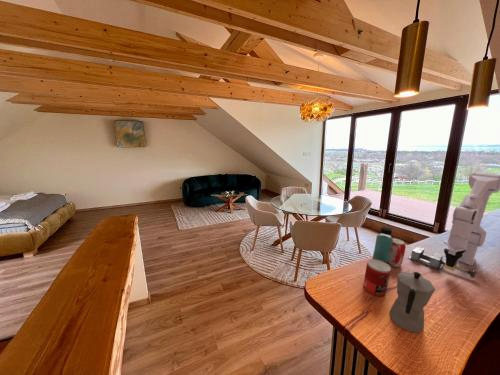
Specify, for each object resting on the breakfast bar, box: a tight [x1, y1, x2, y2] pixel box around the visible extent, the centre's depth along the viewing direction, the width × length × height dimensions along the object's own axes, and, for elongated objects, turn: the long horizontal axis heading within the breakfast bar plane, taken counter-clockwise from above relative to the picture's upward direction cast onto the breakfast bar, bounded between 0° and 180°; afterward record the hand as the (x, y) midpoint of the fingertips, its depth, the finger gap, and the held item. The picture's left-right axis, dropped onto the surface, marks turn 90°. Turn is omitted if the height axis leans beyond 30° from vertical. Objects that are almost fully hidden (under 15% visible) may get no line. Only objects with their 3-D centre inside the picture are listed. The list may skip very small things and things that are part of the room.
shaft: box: [439, 259, 477, 278], centre depth 95 cm, size 14×3×3 cm, turn 37°
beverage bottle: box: [372, 226, 393, 264], centre depth 94 cm, size 6×7×20 cm
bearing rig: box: [408, 245, 444, 271], centre depth 103 cm, size 12×8×5 cm, turn 37°
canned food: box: [363, 259, 392, 297], centre depth 82 cm, size 8×8×11 cm
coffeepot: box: [389, 271, 436, 334], centre depth 66 cm, size 15×9×18 cm, turn 137°
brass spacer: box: [443, 260, 459, 272], centre depth 91 cm, size 3×5×5 cm, turn 127°
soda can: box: [388, 237, 406, 268], centre depth 99 cm, size 7×7×12 cm
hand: (451, 264), depth 91 cm, fingers closed on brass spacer, 5 cm apart
